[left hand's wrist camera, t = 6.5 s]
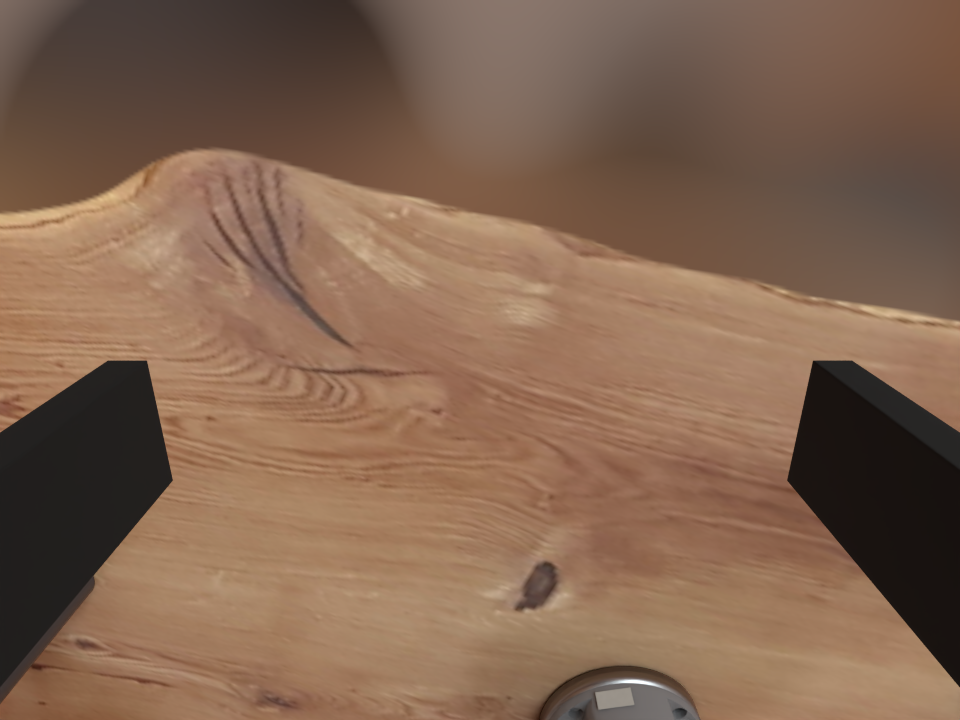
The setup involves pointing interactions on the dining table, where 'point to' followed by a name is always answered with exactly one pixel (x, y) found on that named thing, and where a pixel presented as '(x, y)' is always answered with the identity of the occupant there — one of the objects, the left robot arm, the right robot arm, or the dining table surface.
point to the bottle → (45, 640)
